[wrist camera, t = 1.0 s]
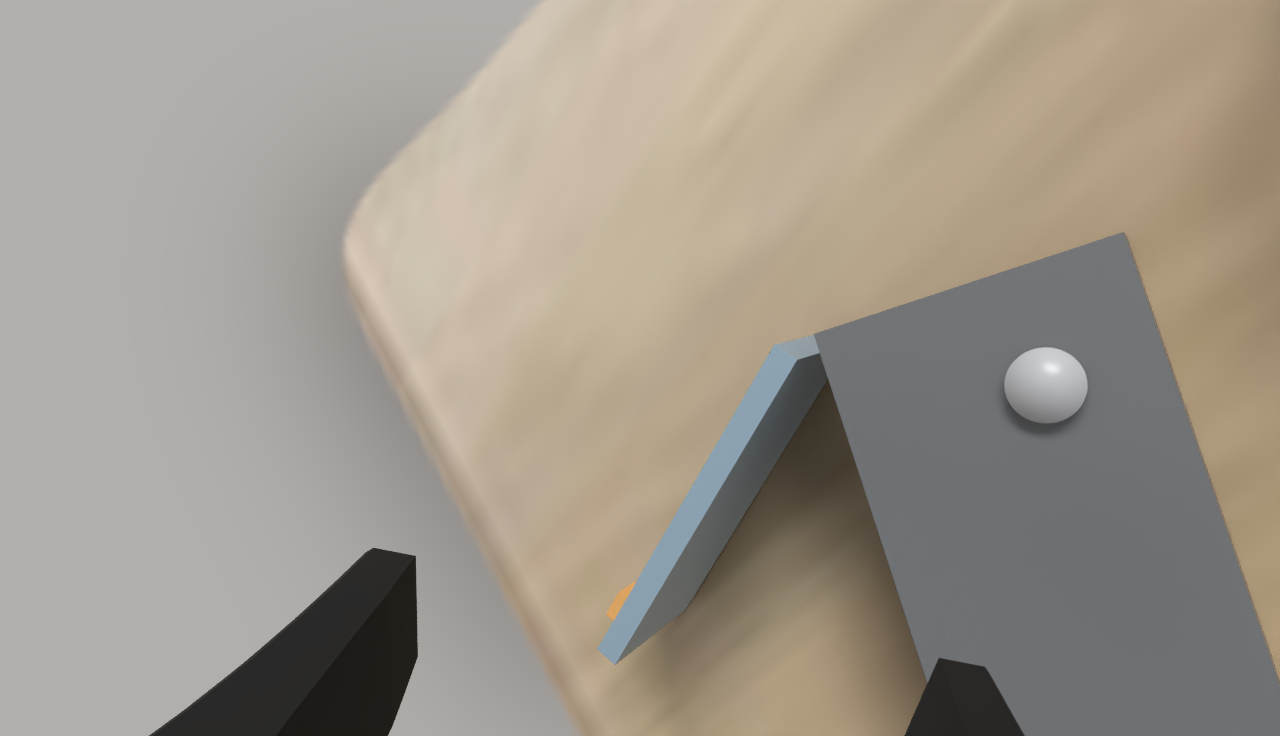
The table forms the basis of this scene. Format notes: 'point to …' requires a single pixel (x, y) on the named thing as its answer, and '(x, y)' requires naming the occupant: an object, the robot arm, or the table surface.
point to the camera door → (719, 495)
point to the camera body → (1054, 502)
